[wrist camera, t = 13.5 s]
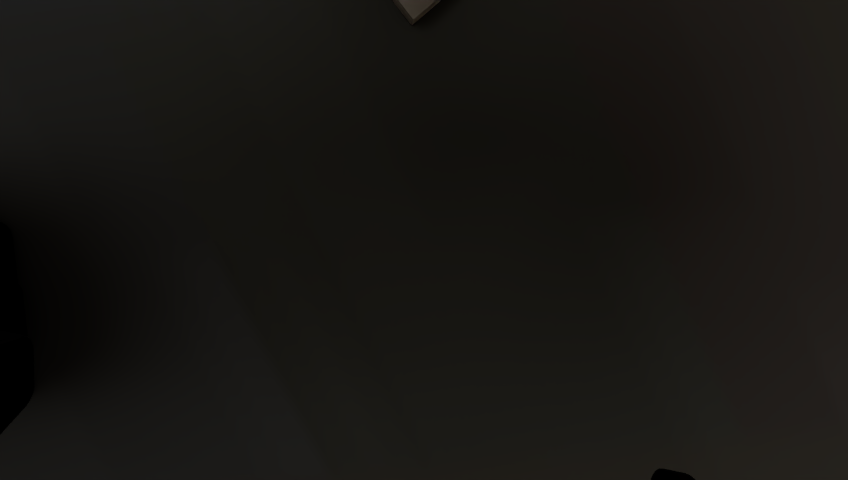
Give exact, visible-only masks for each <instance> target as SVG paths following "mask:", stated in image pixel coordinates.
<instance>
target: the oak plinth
mask: <svg viewBox="0 0 848 480" xmlns="http://www.w3.org/2000/svg"><path fill="white" fill-rule="evenodd" d="M392 1H393V2H394V3H395V5H396V6H397V7H398V9H399V10H400V11H401V12H402V14H403V15H404V16H405V18H406V19H407V20H408V21H409V23H410V24H411V25H413V24H414V23H415V22H417V21H418V20H419V19H420V18H421V17H422V16H424V15H425V14H426V13H427V12H428V11H429V10H431V9H432V8H433V7H434V6H435V5H436V4H438V3H439V2H440V1H441V0H392Z"/></svg>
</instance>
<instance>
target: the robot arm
mask: <svg viewBox="0 0 848 480" xmlns="http://www.w3.org/2000/svg"><path fill="white" fill-rule="evenodd" d="M33 391H34V348H33V343H32V341H31V339H30V338H28V335H27V326H26V317H25V309H24V300H23V292H22V288H21V287H20V285H19V284H18V279H17V271H16V262H15V254H14V245H13V237H12V233H11V230H10V229H9V228H8V227H7V226H6V225H5V224H3V223H2V222H0V434H1V433H2V432H3V431H4V430H5V429H6V428H7V427H8V425H9V424H10V423H11V422H12V421H13V420H14V419H15V418H16V417H17V415H18V414H19V413H20V412H21V411H22V410H23V409H24V408H25V406H26V405H27V404H28V402H29V401H30V399H31V397H32V394H33ZM651 480H695V479H694V478H693V477H691V476H690V475H688V474H686V473H682V472H677V471H672V470H667V469H657V470H656V471H655V472H654V474H653V476H652V478H651Z"/></svg>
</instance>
